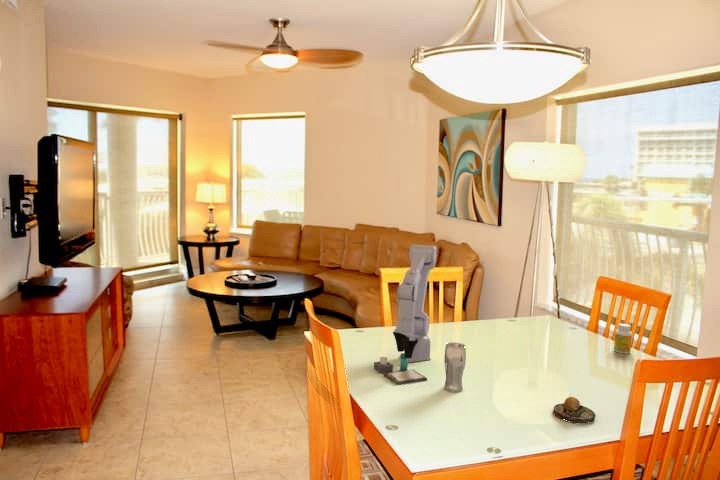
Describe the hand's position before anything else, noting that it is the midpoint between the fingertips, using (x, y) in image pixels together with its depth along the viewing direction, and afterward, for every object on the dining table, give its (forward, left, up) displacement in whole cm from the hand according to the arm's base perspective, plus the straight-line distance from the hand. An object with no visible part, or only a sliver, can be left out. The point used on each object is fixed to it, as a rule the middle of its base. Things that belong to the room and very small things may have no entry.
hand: (404, 354), depth 209 cm
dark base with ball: (-29, +52, -6) cm, 60 cm away
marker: (0, 0, -6) cm, 6 cm away
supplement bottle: (-99, +11, -6) cm, 99 cm away
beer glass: (-7, +21, -6) cm, 23 cm away
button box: (+7, -3, -6) cm, 9 cm away
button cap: (+7, -3, -4) cm, 9 cm away
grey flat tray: (+3, +7, -6) cm, 10 cm away
